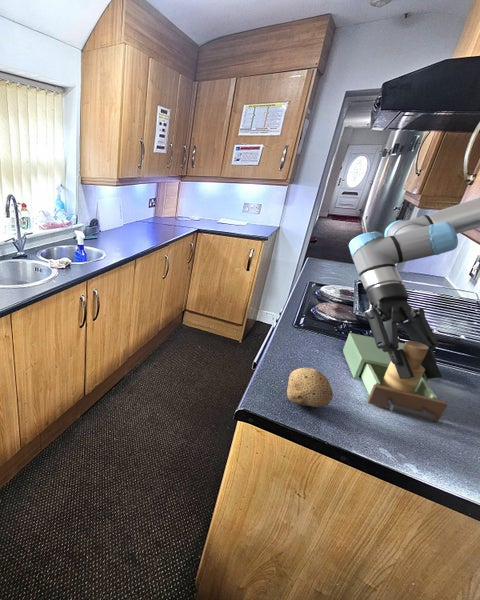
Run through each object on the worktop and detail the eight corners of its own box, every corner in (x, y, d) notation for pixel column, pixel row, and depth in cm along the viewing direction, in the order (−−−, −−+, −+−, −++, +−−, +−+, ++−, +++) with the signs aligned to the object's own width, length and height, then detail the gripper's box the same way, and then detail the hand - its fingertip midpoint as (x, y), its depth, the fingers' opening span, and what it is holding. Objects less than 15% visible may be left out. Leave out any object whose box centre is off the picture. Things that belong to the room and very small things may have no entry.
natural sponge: (330, 405, 79) (343, 372, 75) (320, 424, 74) (334, 389, 70) (288, 388, 85) (298, 356, 81) (277, 404, 80) (287, 371, 76)
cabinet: (419, 395, 84) (431, 373, 81) (353, 379, 90) (361, 358, 87) (398, 363, 98) (407, 344, 95) (342, 351, 104) (349, 332, 101)
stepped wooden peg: (408, 385, 83) (429, 342, 78) (417, 399, 78) (439, 354, 73) (378, 378, 85) (396, 336, 81) (384, 391, 80) (404, 347, 76)
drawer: (446, 434, 70) (457, 416, 68) (372, 414, 76) (380, 397, 74) (413, 384, 87) (421, 369, 85) (354, 370, 92) (360, 356, 90)
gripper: (405, 293, 89) (442, 380, 80) (337, 293, 88) (367, 380, 79) (433, 281, 82) (478, 374, 73) (360, 281, 81) (396, 375, 72)
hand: (420, 377), depth 76 cm, fingers closed on stepped wooden peg, 6 cm apart
